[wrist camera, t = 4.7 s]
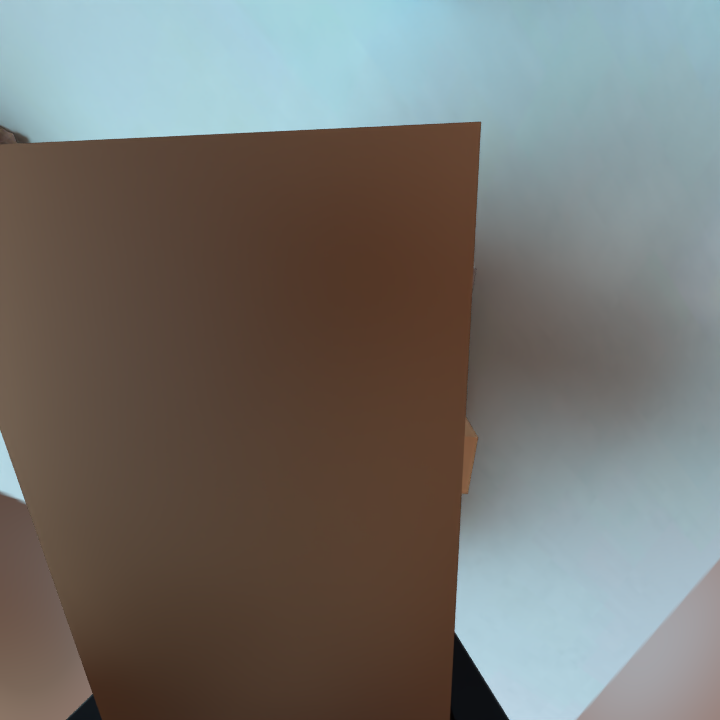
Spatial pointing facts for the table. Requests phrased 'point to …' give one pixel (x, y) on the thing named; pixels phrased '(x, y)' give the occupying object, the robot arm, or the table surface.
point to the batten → (245, 411)
